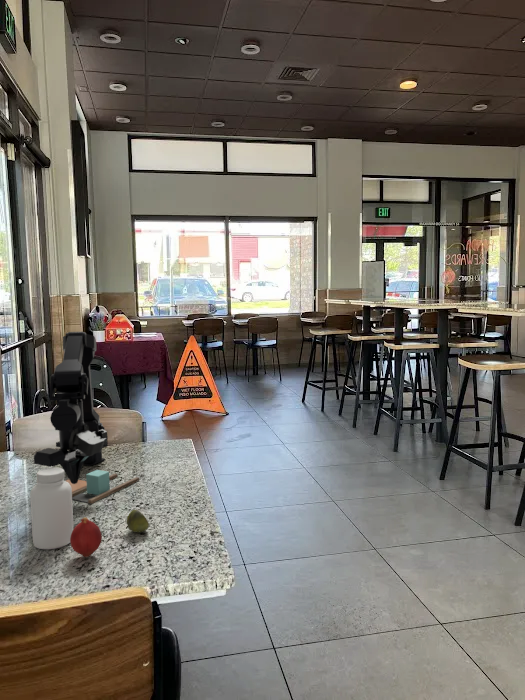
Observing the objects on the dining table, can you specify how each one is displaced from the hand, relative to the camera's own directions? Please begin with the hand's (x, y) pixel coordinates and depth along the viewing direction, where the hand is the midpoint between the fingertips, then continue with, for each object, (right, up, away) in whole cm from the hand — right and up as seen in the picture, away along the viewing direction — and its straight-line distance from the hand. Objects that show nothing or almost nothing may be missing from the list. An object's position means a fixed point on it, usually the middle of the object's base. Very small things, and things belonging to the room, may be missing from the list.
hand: (74, 483), depth 136 cm
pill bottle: (+3, -7, -21) cm, 22 cm away
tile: (-4, -4, +10) cm, 12 cm away
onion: (+12, -8, -28) cm, 31 cm away
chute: (+5, -4, +9) cm, 11 cm away
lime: (+19, -7, -17) cm, 27 cm away
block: (+4, -4, +8) cm, 9 cm away
